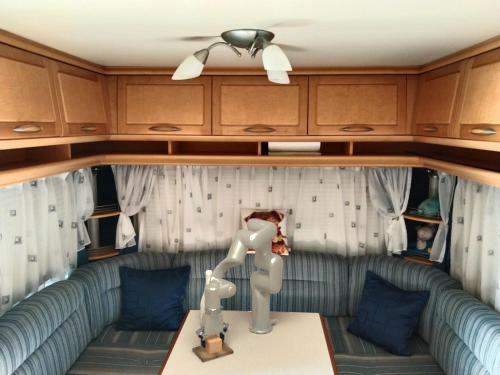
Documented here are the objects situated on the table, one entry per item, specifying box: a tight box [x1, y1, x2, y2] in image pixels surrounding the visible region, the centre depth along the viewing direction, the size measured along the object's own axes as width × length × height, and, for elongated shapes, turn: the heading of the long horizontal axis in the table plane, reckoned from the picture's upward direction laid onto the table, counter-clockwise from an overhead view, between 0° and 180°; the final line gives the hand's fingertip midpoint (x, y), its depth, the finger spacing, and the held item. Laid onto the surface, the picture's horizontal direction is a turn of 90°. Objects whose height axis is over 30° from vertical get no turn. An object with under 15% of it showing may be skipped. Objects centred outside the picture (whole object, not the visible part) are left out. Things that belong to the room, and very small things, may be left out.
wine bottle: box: [199, 269, 213, 323], centre depth 241 cm, size 10×10×30 cm
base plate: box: [191, 341, 235, 363], centre depth 213 cm, size 16×12×5 cm
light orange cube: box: [204, 333, 222, 354], centre depth 213 cm, size 6×6×6 cm
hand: (212, 344), depth 213 cm, fingers open, 9 cm apart
